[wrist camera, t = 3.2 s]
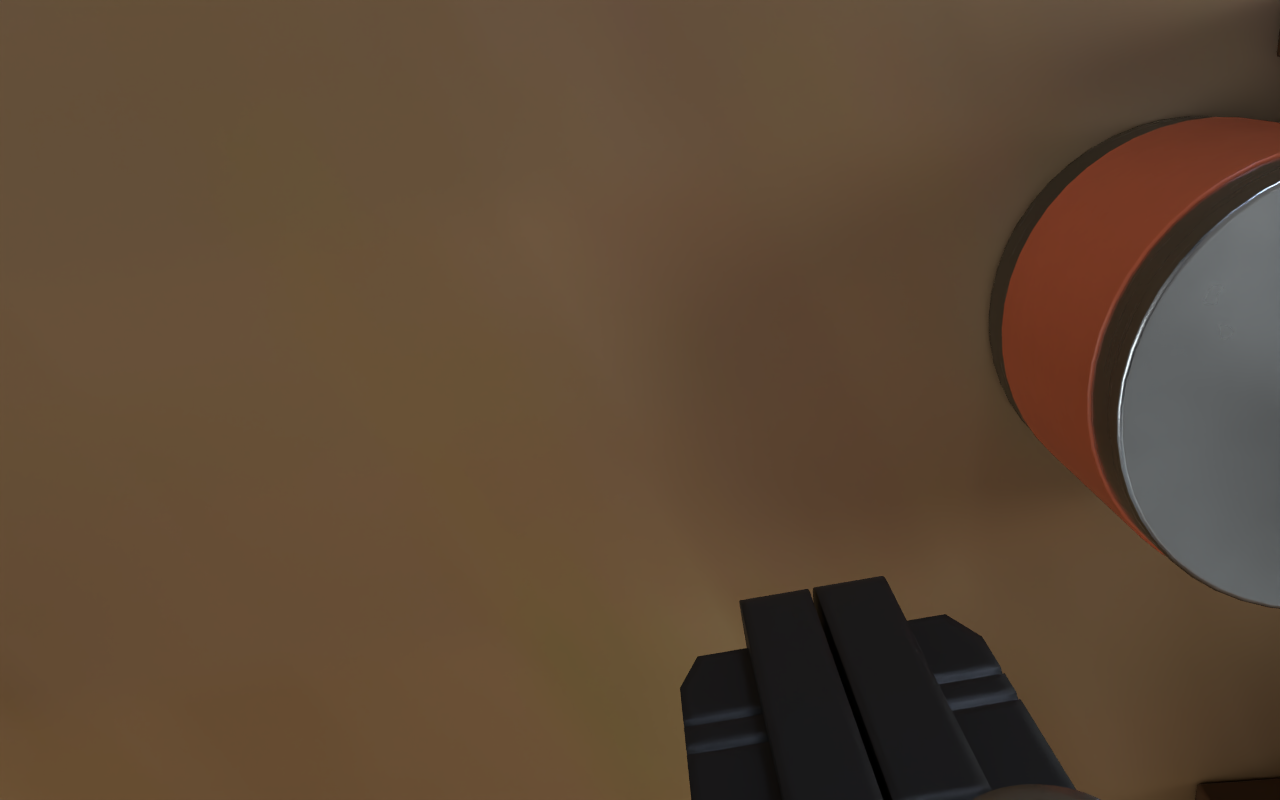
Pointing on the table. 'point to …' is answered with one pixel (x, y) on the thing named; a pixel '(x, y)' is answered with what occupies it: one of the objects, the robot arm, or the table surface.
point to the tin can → (1159, 339)
